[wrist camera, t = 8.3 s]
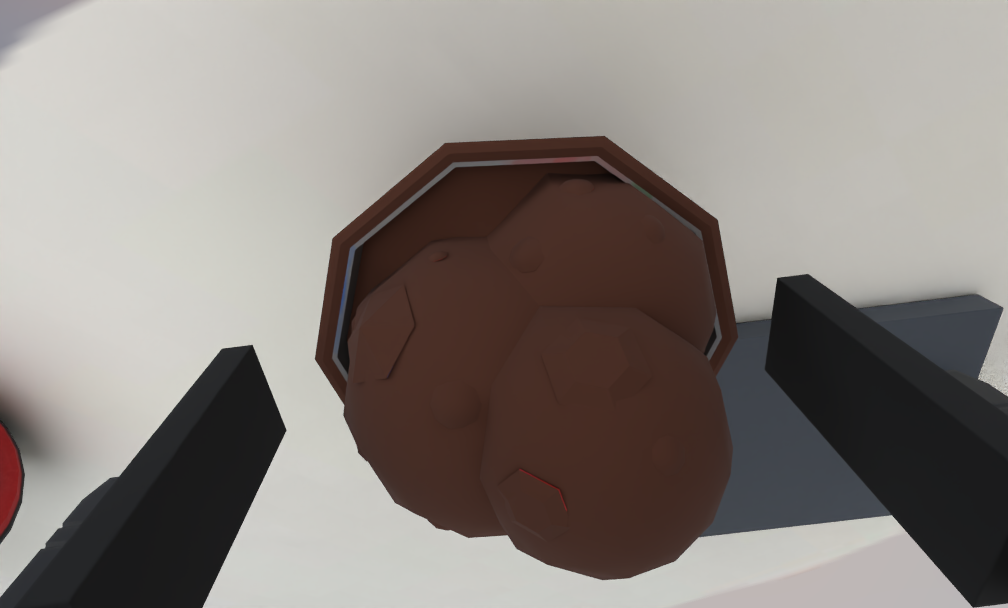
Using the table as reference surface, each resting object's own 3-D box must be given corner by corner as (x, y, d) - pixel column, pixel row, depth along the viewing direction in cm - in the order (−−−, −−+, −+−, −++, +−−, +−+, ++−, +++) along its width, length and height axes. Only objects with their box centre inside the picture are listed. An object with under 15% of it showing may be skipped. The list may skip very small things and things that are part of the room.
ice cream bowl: (595, 43, 19) (871, 59, 6) (659, 298, 24) (887, 630, 11) (333, 148, 20) (50, 364, 7) (445, 369, 25) (407, 745, 12)
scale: (989, 292, 24) (1052, 323, 22) (920, 490, 30) (962, 534, 28) (617, 337, 25) (634, 373, 22) (621, 525, 31) (634, 571, 28)
